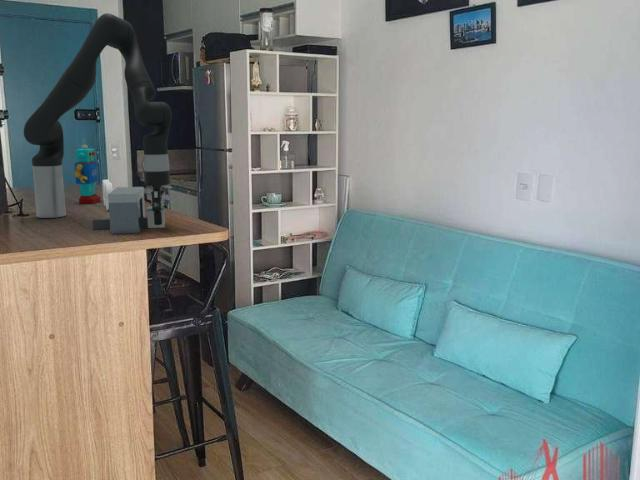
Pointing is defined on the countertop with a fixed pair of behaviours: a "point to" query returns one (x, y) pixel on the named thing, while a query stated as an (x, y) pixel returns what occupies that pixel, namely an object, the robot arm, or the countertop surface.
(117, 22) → the robot arm
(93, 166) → the toy robot
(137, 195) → the housing
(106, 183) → the letter
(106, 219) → the plug
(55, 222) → the countertop surface
